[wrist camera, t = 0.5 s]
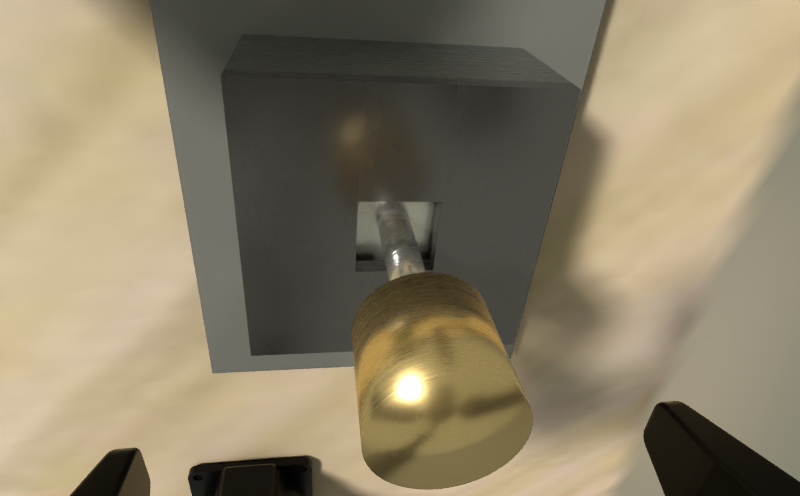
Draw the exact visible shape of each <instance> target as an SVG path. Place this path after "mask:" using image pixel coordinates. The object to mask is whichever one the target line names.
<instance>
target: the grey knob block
mask: <svg viewBox="0 0 800 496" xmlns="http://www.w3.org/2000/svg"><path fill="white" fill-rule="evenodd" d="M221 86H222V95H223V104H224V113H225V122H226V132H227V141H228V150H229V159H230V168H231V178H232V187H233V196H234V205H235V214H236V224H237V233H238V242H239V251H240V260H241V270H242V279H243V288H244V297H245V306H246V315H247V325H248V334H249V343H250V352H251V356H262V355H285V354H307V353H330V352H352V351H353V348H352V337H351V328H352V322H353V319H354V316H355V314H356V312H357V310H358V308H359V307H360V305H361V304H362V302H363V301H364V300H365V299H366V298H367V297H368V296H369V295H370V294H371V293H372V292H373V291H375V290H376V289H377V288H379V287H380V286H382V285H384V284H385V283H387V282H389V279H388V274H387V269H386V265H385V260H362V261H356V239H357V212H358V202H437V205H436V213H435V220H434V228H433V235H432V243H431V251H430V258H429V259H422V261H423V264H424V268H425V271H426V272H438V273H445V274H449V275H453V276H456V277H458V278H461V279H463V280H465V281H466V282H468V283H470V284H471V285H472V286H473V287H475V288H476V290H477V291H478V292H479V293H480V294H481V296H482V297H483V299H484V301H485V303H486V306H487V308H488V310H489V313H490V315H491V317H492V320H493V322H494V324H495V327H496V329H497V331H498V334H499V336H500V338H501V341H502V343H503V345H510V344H514V342H515V338H516V334H517V331H518V327H519V323H520V319H521V316H522V312H523V308H524V304H525V300H526V297H527V293H528V289H529V285H530V282H531V278H532V274H533V270H534V267H535V263H536V259H537V255H538V252H539V248H540V244H541V240H542V237H543V233H544V229H545V225H546V222H547V218H548V214H549V210H550V207H551V203H552V199H553V195H554V192H555V188H556V184H557V180H558V177H559V173H560V169H561V165H562V162H563V158H564V154H565V150H566V147H567V143H568V139H569V135H570V132H571V128H572V124H573V120H574V117H575V113H576V109H577V105H578V102H579V98H580V94H581V89H580V88H579V87H577V86H576V85H574V84H573V83H571V82H570V81H569V80H567V79H566V78H564V77H563V76H562V75H560V74H559V73H557V72H556V71H554V70H553V69H552V68H550V67H549V66H547V65H546V64H545V63H543V62H542V61H540V60H539V59H537V58H536V57H535V56H533V55H532V54H530V53H529V52H528V51H526V50H525V49H523V48H513V47H493V46H473V45H453V44H434V43H414V42H394V41H374V40H354V39H334V38H315V37H295V36H275V35H255V34H242V35H241V37H240V39H239V41H238V43H237V45H236V47H235V49H234V51H233V52H232V54H231V56H230V58H229V60H228V62H227V64H226V66H225V68H224V70H223V72H222V74H221Z"/></svg>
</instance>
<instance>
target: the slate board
mask: <svg viewBox="0 0 800 496" xmlns="http://www.w3.org/2000/svg"><path fill="white" fill-rule="evenodd" d="M605 3H606V0H150V4H151V10H152V15H153V21H154V27H155V33H156V39H157V45H158V51H159V57H160V63H161V69H162V75H163V81H164V87H165V93H166V99H167V105H168V111H169V117H170V123H171V128H172V134H173V140H174V146H175V152H176V158H177V164H178V170H179V176H180V182H181V188H182V194H183V200H184V206H185V212H186V218H187V224H188V230H189V236H190V241H191V247H192V253H193V259H194V265H195V271H196V277H197V283H198V289H199V295H200V301H201V307H202V313H203V319H204V325H205V331H206V337H207V343H208V349H209V354H210V360H211V366H212V372H213V373H228V372H248V371H269V370H289V369H310V368H330V367H350V366H354V359H353V351H352V352H330V353H307V354H285V355H262V356H251V352H250V343H249V334H248V325H247V315H246V306H245V297H244V288H243V279H242V270H241V260H240V251H239V242H238V233H237V224H236V214H235V205H234V196H233V187H232V178H231V168H230V159H229V150H228V141H227V132H226V122H225V113H224V104H223V95H222V86H221V74H222V72H223V70H224V68H225V66H226V64H227V62H228V60H229V58H230V56H231V54H232V52H233V51H234V49H235V47H236V45H237V43H238V41H239V39H240V37H241V35H242V34H255V35H275V36H295V37H315V38H334V39H354V40H374V41H394V42H414V43H434V44H453V45H473V46H493V47H513V48H523V49H525V50H526V51H528V52H529V53H530V54H532V55H533V56H535V57H536V58H537V59H539V60H540V61H542V62H543V63H545V64H546V65H547V66H549V67H550V68H552V69H553V70H554V71H556V72H557V73H559V74H560V75H562V76H563V77H564V78H566V79H567V80H569V81H570V82H571V83H573V84H574V85H576V86H577V87H579V88H580V89H581V93H582V89H583V85H584V82H585V78H586V74H587V70H588V67H589V63H590V59H591V55H592V52H593V48H594V44H595V40H596V37H597V33H598V29H599V25H600V22H601V18H602V14H603V10H604V7H605ZM580 97H581V94H580ZM579 100H580V98H579ZM578 104H579V102H578ZM577 108H578V105H577ZM576 112H577V109H576ZM575 115H576V113H575ZM574 119H575V117H574ZM573 123H574V120H573ZM572 127H573V124H572ZM571 130H572V128H571ZM570 134H571V132H570ZM569 138H570V135H569ZM568 141H569V139H568ZM567 145H568V143H567ZM566 149H567V147H566ZM565 153H566V150H565ZM564 156H565V154H564ZM563 160H564V158H563ZM562 164H563V162H562ZM561 168H562V165H561ZM560 171H561V169H560ZM559 175H560V173H559ZM558 179H559V177H558ZM557 183H558V180H557ZM556 186H557V184H556ZM555 190H556V188H555ZM554 194H555V192H554ZM553 198H554V195H553ZM552 201H553V199H552ZM551 205H552V203H551ZM550 209H551V207H550ZM549 213H550V210H549ZM548 216H549V214H548ZM547 220H548V218H547ZM546 224H547V222H546ZM545 228H546V225H545ZM544 231H545V229H544ZM543 235H544V233H543ZM542 239H543V237H542ZM541 243H542V240H541ZM540 246H541V244H540ZM539 250H540V248H539ZM538 254H539V252H538ZM537 258H538V255H537ZM536 261H537V259H536ZM535 265H536V263H535ZM534 269H535V267H534ZM533 273H534V270H533ZM532 276H533V274H532ZM531 280H532V278H531ZM530 284H531V282H530ZM529 287H530V285H529ZM528 291H529V289H528ZM527 295H528V293H527ZM526 299H527V297H526ZM525 302H526V300H525ZM524 306H525V304H524ZM523 310H524V308H523ZM522 314H523V312H522ZM521 317H522V316H521ZM520 321H521V319H520ZM519 325H520V323H519ZM518 329H519V327H518ZM517 332H518V331H517ZM516 336H517V334H516ZM515 340H516V338H515ZM514 344H515V342H514ZM514 344H510V345H504V348H505V350H506V352H507V355H508V357H509V359H511V355H512V351H513V347H514Z"/></svg>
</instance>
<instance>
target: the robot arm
mask: <svg viewBox="0 0 800 496" xmlns="http://www.w3.org/2000/svg"><path fill="white" fill-rule="evenodd" d="M644 443H645V446H646V448H647V451H648V453H649V456H650V458H651V461H652V464H653V466H654V469H655V471H656V473H657V476H658V479H659V481H660V484H661V486H662V489H663V491H664V494H665V496H800V482H799V481H798V480H796V479H795V478H793V477H792V476H790V475H789V474H787V473H786V472H784V471H783V470H781V469H780V468H778V467H777V466H775V465H774V464H773V463H771V462H770V461H768V460H767V459H765V458H764V457H762V456H761V455H759V454H758V453H756V452H755V451H754V450H752V449H751V448H749V447H748V446H746V445H745V444H743V443H742V442H740V441H739V440H737V439H736V438H734V437H733V436H731V435H730V434H728V433H727V432H726V431H724V430H722V429H721V428H720V427H718V426H717V425H715V424H714V423H712V422H711V421H709V420H708V419H706V418H705V417H703V416H702V415H700V414H699V413H697V412H696V411H695V410H693V409H692V408H690V407H689V406H687V405H685V404H684V403H682V402H679V401H670V402H660V403H658V404H657V405H656V406H655V408H654V410H653V412H652V414H651V416H650V418H649V421H648V423H647V425H646V427H645V429H644ZM188 480H189V484H190V489H191V493H192V496H312V462H311V460H310V459H308V458H291V459H278V460H265V461H251V462H238V463H225V464H212V465H198V466H194V467H192V468H191V469H190V471H189V476H188ZM70 496H150V478H149V475H148V472H147V469H146V466H145V463H144V460H143V457H142V454H141V452H140V450H139V449H137V448H125V449H115V450H112V451H110V452H109V453H107V454H106V455H105V456H104V457H103V459H102V460H101V461H100V462H99V463H98V464H97V465H96V466H95V468H94V469H93V470H92V471H91V472H90V473H89V474H88V476H87V477H86V478H85V479H84V480H83V481H82V482H81V483H80V485H79V486H78V487H77V488H76V489H75V490H74V491H73V492H72V494H71V495H70Z"/></svg>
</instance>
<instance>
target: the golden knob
mask: <svg viewBox="0 0 800 496" xmlns="http://www.w3.org/2000/svg"><path fill="white" fill-rule="evenodd" d="M436 205H437V202H358V212H357V239H356V261H362V260H385V265H386V269H387V274H388V279H389V282H387V283H385V284H384V285H382V286H380V287H379V288H377V289H376V290H375V291H373V292H372V293H371V294H370V295H369V296H368V297H367V298H366V299H365V300H364V301H363V302H362V304H361V305H360V307H359V308H358V310H357V312H356V314H355V316H354V319H353V322H352V328H351V337H352V348H353V359H354V369H355V380H356V391H357V402H358V413H359V424H360V434H361V445H362V453H363V457H364V460H365V462H366V464H367V465H368V467H369V468H370V469H371V470H372V471H373V472H374V473H375V474H376V475H377V476H379V477H380V478H382V479H383V480H385V481H388V482H390V483H392V484H395V485H398V486H402V487H407V488H413V489H442V488H449V487H454V486H459V485H463V484H466V483H469V482H472V481H475V480H478V479H480V478H482V477H485V476H487V475H489V474H491V473H492V472H494V471H496V470H498V469H499V468H501V467H502V466H504V465H505V464H506V463H508V462H509V461H510V460H511V459H512V458H513V457H514V456H515V455H517V454H518V452H519V451H520V450H521V449H522V448H523V446H524V445H525V443H526V441H527V440H528V438H529V435H530V433H531V429H532V425H533V416H532V411H531V408H530V406H529V403H528V401H527V399H526V396H525V394H524V392H523V389H522V387H521V385H520V382H519V380H518V378H517V375H516V373H515V371H514V368H513V366H512V364H511V361H510V359H509V357H508V355H507V352H506V350H505V348H504V345H503V343H502V341H501V338H500V336H499V334H498V331H497V329H496V327H495V324H494V322H493V320H492V317H491V315H490V313H489V310H488V308H487V306H486V303H485V301H484V299H483V297H482V296H481V294H480V293H479V292H478V291H477V290H476V288H475V287H473V286H472V285H471V284H470V283H468V282H466V281H465V280H463V279H461V278H458V277H456V276H453V275H449V274H445V273H438V272H426V271H425V268H424V264H423V261H422V259H429V258H430V251H431V243H432V235H433V228H434V220H435V213H436Z"/></svg>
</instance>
